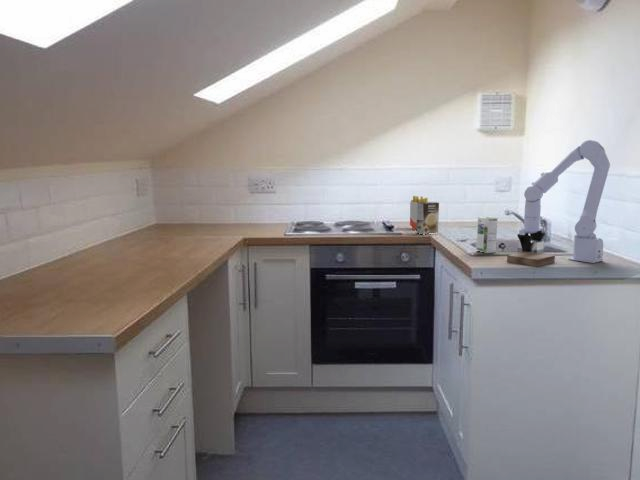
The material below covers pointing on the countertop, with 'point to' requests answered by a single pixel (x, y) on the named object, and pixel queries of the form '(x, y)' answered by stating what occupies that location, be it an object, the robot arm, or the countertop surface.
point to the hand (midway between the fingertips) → (530, 251)
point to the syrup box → (486, 234)
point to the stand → (531, 258)
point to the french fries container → (415, 210)
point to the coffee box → (427, 217)
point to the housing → (533, 246)
